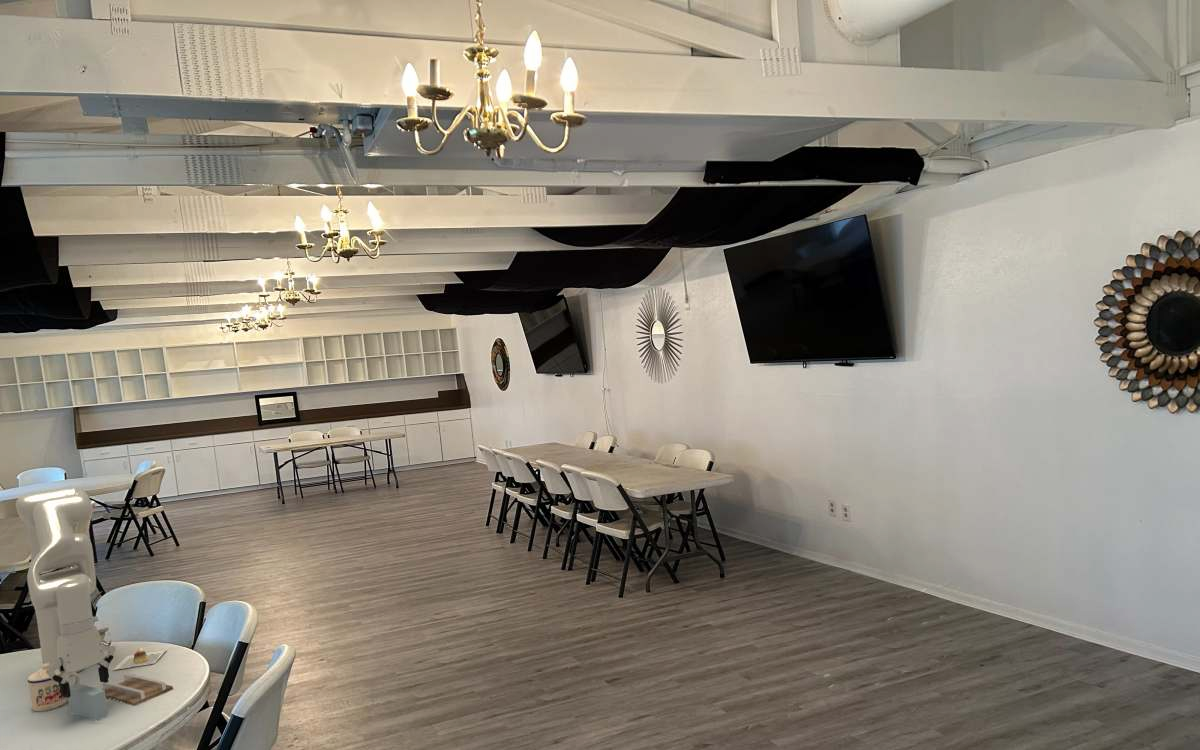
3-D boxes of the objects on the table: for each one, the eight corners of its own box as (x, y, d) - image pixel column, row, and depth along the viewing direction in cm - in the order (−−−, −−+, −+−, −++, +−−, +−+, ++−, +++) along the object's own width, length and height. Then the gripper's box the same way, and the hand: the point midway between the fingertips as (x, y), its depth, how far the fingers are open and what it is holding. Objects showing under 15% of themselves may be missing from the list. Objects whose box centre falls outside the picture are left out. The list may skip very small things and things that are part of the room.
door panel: (69, 712, 227) (66, 687, 226) (81, 708, 229) (78, 683, 229) (96, 721, 219) (93, 695, 219) (108, 716, 222) (104, 690, 222)
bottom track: (96, 695, 237) (95, 685, 237) (134, 679, 247) (133, 670, 247) (134, 705, 227) (133, 695, 227) (173, 688, 236) (171, 679, 236)
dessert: (113, 673, 256) (111, 658, 256) (127, 659, 268) (125, 644, 267) (155, 666, 258) (153, 651, 258) (167, 652, 270) (165, 638, 270)
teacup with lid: (34, 715, 227) (28, 673, 227) (29, 706, 234) (23, 666, 234) (84, 699, 235) (79, 659, 235) (78, 691, 242) (73, 652, 241)
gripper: (103, 615, 232) (111, 675, 233) (35, 636, 218) (43, 700, 218) (117, 617, 228) (125, 678, 229) (49, 639, 214) (58, 704, 214)
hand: (85, 689), depth 224 cm, fingers open, 9 cm apart
